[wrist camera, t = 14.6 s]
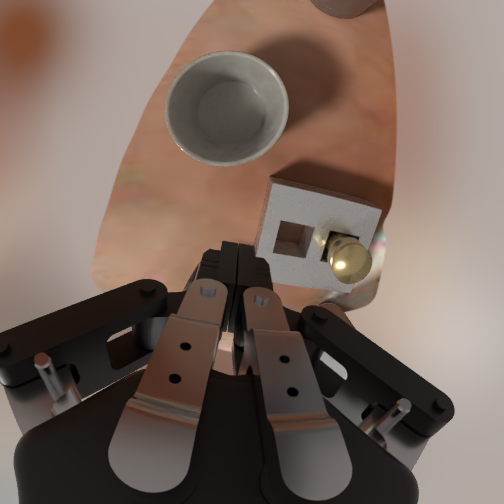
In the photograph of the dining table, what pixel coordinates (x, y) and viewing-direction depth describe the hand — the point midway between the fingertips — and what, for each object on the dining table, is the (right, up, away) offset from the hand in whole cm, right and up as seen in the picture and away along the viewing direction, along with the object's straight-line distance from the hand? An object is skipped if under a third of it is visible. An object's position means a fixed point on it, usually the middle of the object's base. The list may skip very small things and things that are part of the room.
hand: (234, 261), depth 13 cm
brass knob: (+13, +3, +29) cm, 32 cm away
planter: (-2, +19, +21) cm, 29 cm away
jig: (+10, +4, +29) cm, 30 cm away
